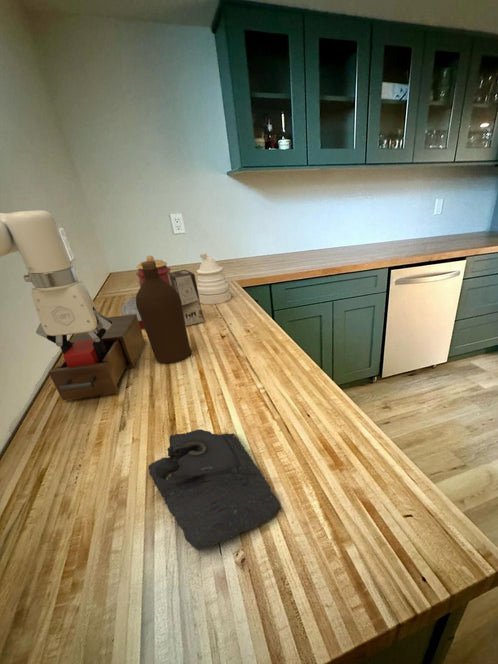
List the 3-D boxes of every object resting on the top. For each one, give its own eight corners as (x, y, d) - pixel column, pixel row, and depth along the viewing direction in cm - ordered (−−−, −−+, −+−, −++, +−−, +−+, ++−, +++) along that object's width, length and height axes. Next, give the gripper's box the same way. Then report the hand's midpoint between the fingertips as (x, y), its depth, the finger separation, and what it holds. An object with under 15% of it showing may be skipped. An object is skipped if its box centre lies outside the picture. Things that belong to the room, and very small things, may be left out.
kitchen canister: (173, 293, 146) (162, 251, 137) (181, 300, 136) (170, 255, 128) (142, 299, 141) (128, 255, 132) (147, 307, 131) (134, 260, 122)
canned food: (157, 331, 121) (165, 307, 117) (143, 340, 112) (150, 314, 108) (128, 317, 120) (134, 292, 116) (110, 325, 111) (116, 298, 107)
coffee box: (205, 321, 114) (195, 273, 106) (186, 326, 111) (174, 277, 103) (196, 314, 121) (185, 268, 113) (178, 318, 118) (166, 272, 110)
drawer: (112, 402, 72) (100, 373, 69) (55, 411, 71) (39, 381, 67) (132, 361, 89) (123, 336, 85) (85, 367, 87) (74, 342, 84)
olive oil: (171, 368, 86) (143, 269, 74) (144, 359, 91) (114, 265, 79) (201, 351, 94) (180, 259, 81) (175, 344, 99) (152, 256, 86)
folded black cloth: (180, 575, 40) (170, 552, 38) (147, 464, 57) (139, 443, 54) (290, 514, 47) (287, 490, 44) (232, 430, 63) (228, 410, 61)
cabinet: (133, 368, 88) (122, 336, 83) (81, 375, 86) (67, 343, 81) (145, 342, 102) (136, 313, 97) (100, 348, 100) (89, 319, 95)
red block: (95, 365, 74) (90, 352, 73) (68, 368, 73) (62, 355, 72) (105, 350, 81) (101, 338, 79) (81, 353, 80) (76, 341, 79)
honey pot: (215, 305, 128) (206, 257, 119) (192, 301, 134) (181, 254, 125) (237, 296, 138) (230, 250, 128) (215, 292, 144) (206, 248, 135)
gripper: (-3, 287, 63) (39, 371, 72) (94, 278, 66) (123, 360, 75) (17, 278, 70) (53, 355, 79) (105, 270, 72) (130, 346, 82)
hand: (87, 357), depth 77 cm, fingers closed on red block, 5 cm apart
